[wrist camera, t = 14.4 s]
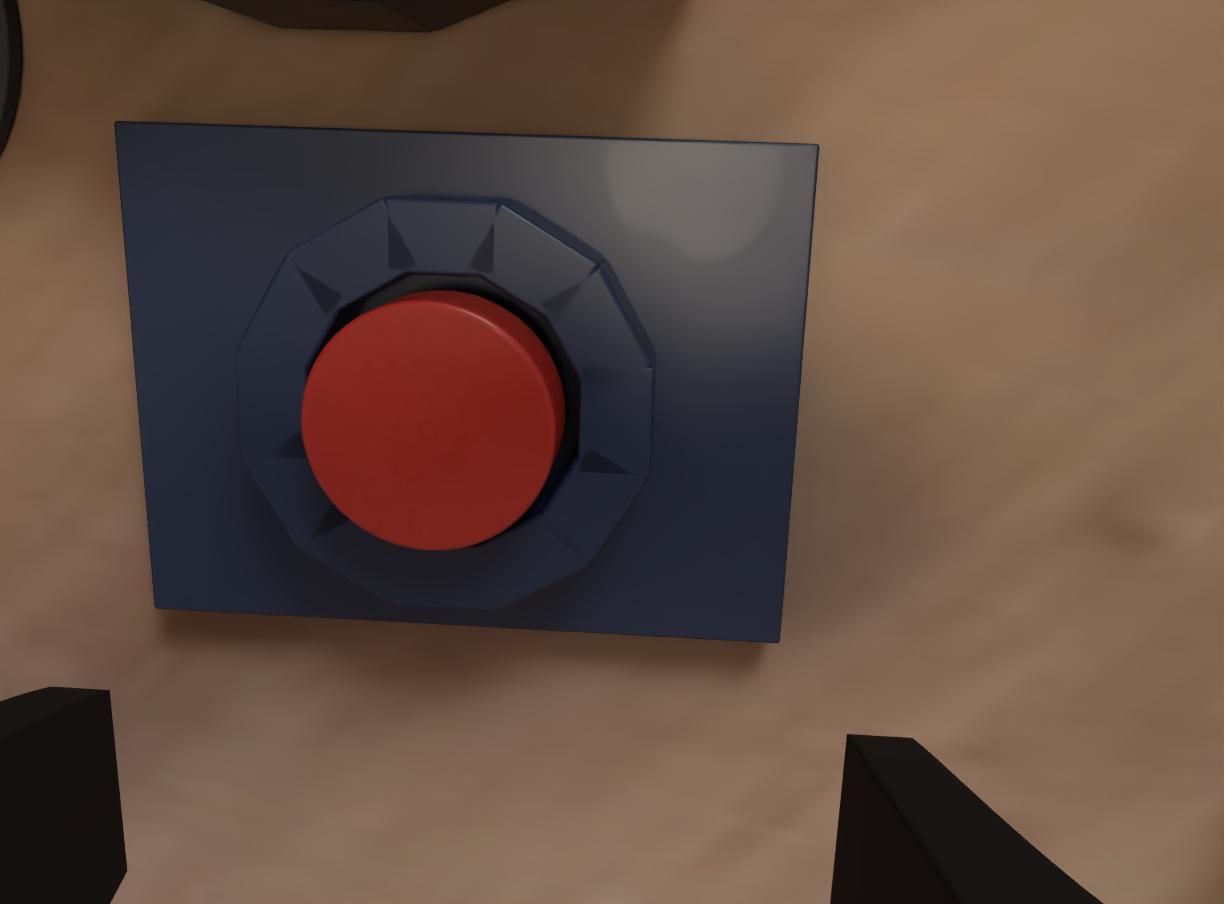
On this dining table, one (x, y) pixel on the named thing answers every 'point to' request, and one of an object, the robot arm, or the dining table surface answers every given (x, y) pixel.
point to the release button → (433, 419)
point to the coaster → (8, 65)
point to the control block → (530, 289)
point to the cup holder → (358, 13)
